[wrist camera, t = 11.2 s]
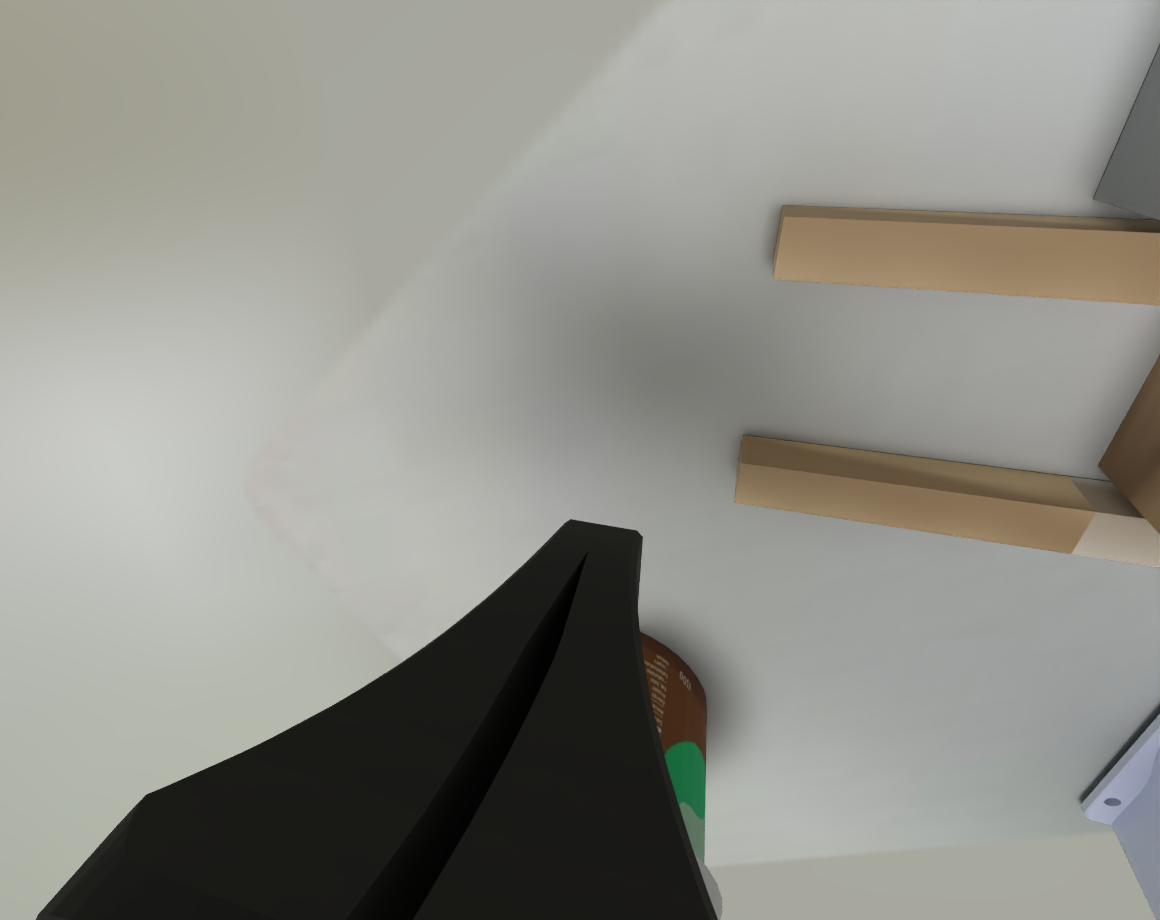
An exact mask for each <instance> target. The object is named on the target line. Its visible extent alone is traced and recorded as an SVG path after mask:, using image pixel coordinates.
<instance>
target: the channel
mask: <svg viewBox="0 0 1160 920" xmlns="http://www.w3.org/2000/svg"><path fill="white" fill-rule="evenodd" d="M773 279H778V280H793V281H808V282H823V283H837V284H852V285H867V286H882V287H897V288H912V289H926V290H941V291H956V292H971V293H986V294H1001V295H1015V296H1030V297H1045V298H1060V299H1075V300H1090V301H1105V302H1119V303H1134V304H1149V305H1160V220H1145V219H1119V218H1094V217H1069V216H1044V215H1018V214H993V213H968V212H942V211H917V210H892V209H867V208H841V207H816V206H791V205H783V206H782V212H781V218H780V224H779V229H778V235H777V241H776V247H775V253H774V258H773ZM734 502H735V503H742V504H748V505H755V506H761V507H768V508H774V509H781V510H787V511H794V512H800V513H807V514H813V515H820V516H827V517H833V518H840V519H846V520H853V521H859V522H866V523H872V524H879V525H885V526H892V527H898V528H905V529H911V530H918V531H924V532H931V533H937V534H944V535H951V536H957V537H964V538H970V539H977V540H983V541H990V542H996V543H1003V544H1009V545H1016V546H1022V547H1029V548H1035V549H1042V550H1048V551H1055V552H1061V553H1068V554H1075V555H1081V556H1088V557H1094V558H1101V559H1107V560H1114V561H1120V562H1127V563H1133V564H1140V565H1146V566H1153V567H1159V568H1160V534H1159V533H1158V532H1157V531H1156V530H1155V529H1154V528H1153V526H1152V525H1151V524H1150V523H1149V522H1148V521H1147V520H1146V519H1145V518H1144V516H1143V515H1142V514H1141V513H1140V512H1139V511H1138V510H1137V509H1136V508H1135V506H1134V505H1133V504H1132V503H1131V502H1130V501H1129V500H1128V499H1127V497H1126V496H1125V495H1124V494H1123V493H1122V492H1121V491H1120V490H1119V489H1118V487H1117V486H1116V485H1115V484H1114V483H1113V482H1108V481H1100V480H1092V479H1084V478H1076V477H1068V476H1060V475H1053V474H1045V473H1037V472H1029V471H1021V470H1013V469H1005V468H997V467H990V466H982V465H974V464H966V463H958V462H950V461H942V460H935V459H927V458H919V457H911V456H903V455H895V454H887V453H880V452H872V451H864V450H856V449H848V448H840V447H832V446H825V445H817V444H809V443H801V442H793V441H785V440H777V439H770V438H762V437H754V436H746V435H743V439H742V445H741V451H740V457H739V462H738V468H737V476H736V488H735V500H734Z"/></svg>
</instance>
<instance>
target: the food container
mask: <svg viewBox="0 0 1160 920" xmlns="http://www.w3.org/2000/svg"><path fill="white" fill-rule="evenodd" d="M640 637H641V645H642V652H643V658H644V664H645V670H646V676H647V681H648V687H649V692H650V697H651V702H652V706H653V711H654V715H655V719H656V724H657V728H658V732H659V736H660V740H661V744H662V748H663V752H664V755H665V759H666V763H667V767H668V770H669V774H670V777H671V780H672V784H673V787H674V790H675V793H676V797H677V800H678V803H679V807H680V810H681V813H682V816H683V820H684V823H685V826H686V829H687V833H688V836H689V839H690V842H691V845H692V848H693V851H694V854H695V857H696V860H697V862H698V865H699V868H700V871H701V874H702V877H703V880H704V883H705V885H706V888H707V891H708V894H709V897H710V899H711V902H712V905H713V907H714V910H715V913H716V915H717V918H718V920H720V918H721V915H722V897H721V894H720V891H719V888H718V885H717V883H716V881H715V880H714V878H713V876H712V875H711V873H710V871H709V870H708V868H707V867H706V866H705V864H704V849H705V784H706V719H707V707H706V697H705V694H704V690H703V688H702V686H701V684H700V682H699V680H698V678H697V677H696V675H695V674H694V673H693V671H692V670H691V669H690V667H689V666H688V665H687V664H686V663H685V662H684V661H683V660H682V659H681V658H680V657H679V656H678V655H676V654H675V653H674V652H672V651H671V650H670V649H668V648H667V647H666V646H664V645H663V644H661V643H659V642H658V641H656V640H654V639H653V638H651V637H649V636H647V635H645V634H643V633H640Z"/></svg>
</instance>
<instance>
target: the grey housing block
mask: <svg viewBox="0 0 1160 920" xmlns="http://www.w3.org/2000/svg"><path fill="white" fill-rule="evenodd" d="M1094 200H1098V201H1101V202H1104V203H1107V204H1110V205H1113V206H1116V207H1120V208H1123V209H1126V210H1129V211H1132V212H1135V213H1138V214H1142V215H1145V216H1148V217H1151V218H1154V219H1157V220H1160V47H1159V49H1158V51H1157V54H1156V56H1155V58H1154V60H1153V63H1152V65H1151V67H1150V70H1149V72H1148V74H1147V77H1146V79H1145V81H1144V84H1143V86H1142V88H1141V90H1140V93H1139V95H1138V97H1137V100H1136V102H1135V104H1134V107H1133V109H1132V111H1131V113H1130V116H1129V118H1128V120H1127V123H1126V125H1125V127H1124V130H1123V132H1122V134H1121V137H1120V139H1119V141H1118V143H1117V146H1116V148H1115V150H1114V153H1113V155H1112V157H1111V160H1110V162H1109V164H1108V166H1107V169H1106V171H1105V173H1104V176H1103V178H1102V180H1101V183H1100V185H1099V187H1098V189H1097V192H1096V194H1095V196H1094Z"/></svg>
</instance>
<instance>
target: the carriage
mask: <svg viewBox="0 0 1160 920" xmlns="http://www.w3.org/2000/svg"><path fill="white" fill-rule="evenodd" d="M1098 466H1099V467H1100V468H1101V470H1102V471H1103V472H1104V473H1105V474H1106V475H1107V476H1108V477H1109V479H1110V480H1111V481H1112V482H1113V483H1114V484H1115V485H1116V486H1117V487H1118V489H1119V490H1120V491H1121V492H1122V493H1123V494H1124V495H1125V496H1126V497H1127V499H1128V500H1129V501H1130V502H1131V503H1132V504H1133V505H1134V506H1135V508H1136V509H1137V510H1138V511H1139V512H1140V513H1141V514H1142V515H1143V516H1144V518H1145V519H1146V520H1147V521H1148V522H1149V523H1150V524H1151V525H1152V526H1153V528H1154V529H1155V530H1156V531H1157V532H1158V533H1159V534H1160V356H1159V358H1158V359H1157V361H1156V363H1155V365H1154V367H1153V368H1152V370H1151V372H1150V374H1149V375H1148V377H1147V379H1146V381H1145V383H1144V384H1143V386H1142V388H1141V390H1140V391H1139V393H1138V395H1137V397H1136V399H1135V400H1134V402H1133V404H1132V406H1131V407H1130V409H1129V411H1128V413H1127V415H1126V416H1125V418H1124V420H1123V422H1122V424H1121V425H1120V427H1119V429H1118V431H1117V432H1116V434H1115V436H1114V438H1113V440H1112V441H1111V443H1110V445H1109V447H1108V448H1107V450H1106V452H1105V454H1104V456H1103V457H1102V459H1101V461H1100V463H1099V465H1098Z"/></svg>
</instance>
